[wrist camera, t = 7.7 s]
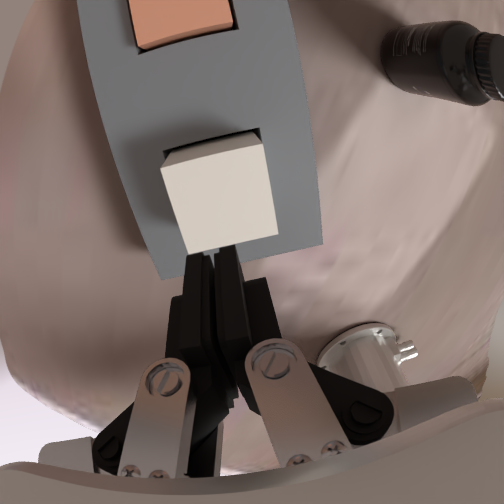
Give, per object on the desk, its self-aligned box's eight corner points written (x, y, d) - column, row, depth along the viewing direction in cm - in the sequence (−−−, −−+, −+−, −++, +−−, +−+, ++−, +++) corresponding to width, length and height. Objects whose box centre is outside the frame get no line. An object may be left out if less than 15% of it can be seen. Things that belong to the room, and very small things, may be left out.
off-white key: (252, 131, 20) (262, 143, 16) (266, 204, 23) (278, 234, 19) (172, 150, 20) (160, 168, 16) (192, 220, 23) (188, 254, 19)
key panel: (255, -63, 12) (263, -83, 9) (309, 223, 27) (322, 244, 24) (91, -21, 12) (73, -34, 9) (166, 255, 28) (161, 280, 24)
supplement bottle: (400, 105, 22) (497, 134, 12) (364, 42, 19) (461, 32, 8) (443, 77, 20) (536, 97, 10) (413, 18, 17) (508, 11, 7)
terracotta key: (215, -25, 14) (216, -49, 10) (229, 35, 18) (233, 21, 13) (141, -6, 14) (124, -25, 10) (153, 54, 18) (138, 46, 13)
